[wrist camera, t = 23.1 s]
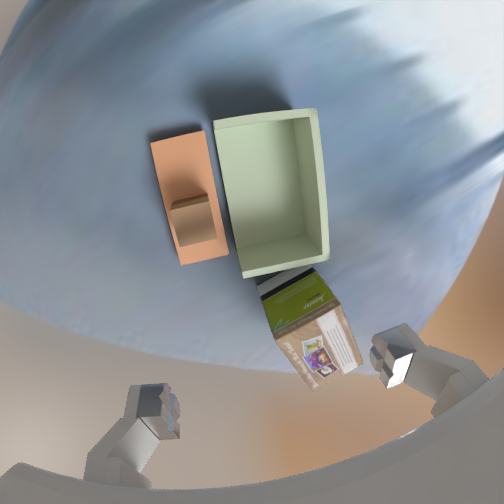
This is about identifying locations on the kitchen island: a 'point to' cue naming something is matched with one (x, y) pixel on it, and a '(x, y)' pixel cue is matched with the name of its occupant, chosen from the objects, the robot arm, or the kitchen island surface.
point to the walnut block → (193, 220)
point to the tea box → (309, 325)
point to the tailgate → (189, 188)
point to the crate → (274, 189)
